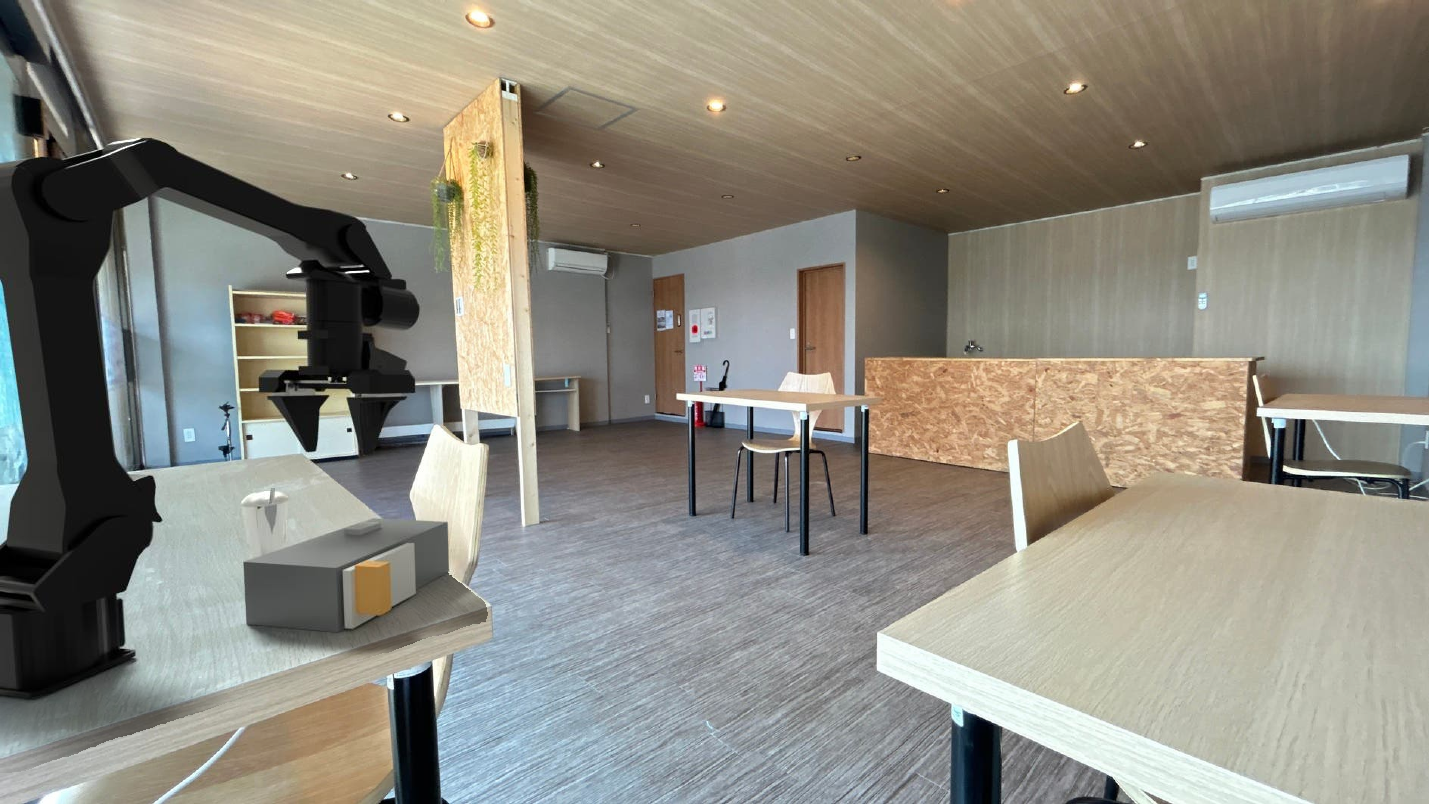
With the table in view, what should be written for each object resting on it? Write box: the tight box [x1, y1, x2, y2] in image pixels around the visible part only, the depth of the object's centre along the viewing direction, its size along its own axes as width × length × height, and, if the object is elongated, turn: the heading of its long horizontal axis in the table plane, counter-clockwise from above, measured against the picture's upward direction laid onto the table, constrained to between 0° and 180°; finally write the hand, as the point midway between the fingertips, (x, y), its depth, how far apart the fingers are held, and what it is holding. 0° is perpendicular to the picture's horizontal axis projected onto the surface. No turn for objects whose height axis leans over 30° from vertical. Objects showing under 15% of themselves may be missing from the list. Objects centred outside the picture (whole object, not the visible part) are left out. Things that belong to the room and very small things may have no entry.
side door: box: [343, 543, 417, 630], centre depth 56 cm, size 8×3×6 cm, turn 170°
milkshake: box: [240, 487, 290, 560], centre depth 69 cm, size 4×5×10 cm
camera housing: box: [242, 517, 450, 633], centre depth 61 cm, size 17×10×7 cm, turn 170°
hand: (338, 453), depth 69 cm, fingers open, 9 cm apart
